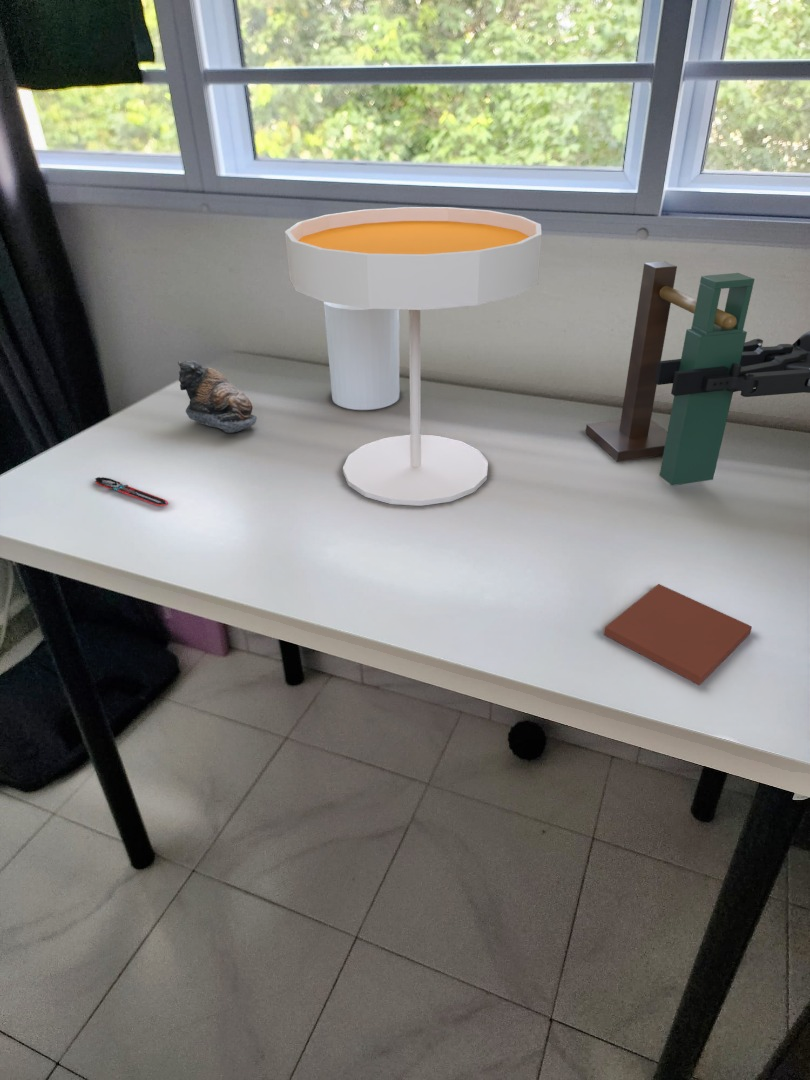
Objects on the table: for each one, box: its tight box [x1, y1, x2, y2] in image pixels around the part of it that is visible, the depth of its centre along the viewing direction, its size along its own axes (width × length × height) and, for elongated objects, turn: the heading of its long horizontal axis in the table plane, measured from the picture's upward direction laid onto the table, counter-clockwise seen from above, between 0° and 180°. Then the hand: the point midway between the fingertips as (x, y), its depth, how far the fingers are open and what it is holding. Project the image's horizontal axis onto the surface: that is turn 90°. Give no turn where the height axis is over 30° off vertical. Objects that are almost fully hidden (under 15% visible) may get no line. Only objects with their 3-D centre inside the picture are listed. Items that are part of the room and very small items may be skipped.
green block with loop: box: [659, 272, 755, 486], centre depth 90 cm, size 3×6×25 cm, turn 104°
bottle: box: [323, 302, 400, 411], centre depth 119 cm, size 12×12×25 cm
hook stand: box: [585, 260, 737, 462], centre depth 98 cm, size 22×10×25 cm, turn 14°
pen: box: [94, 476, 169, 507], centre depth 98 cm, size 2×14×1 cm, turn 58°
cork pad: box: [603, 583, 753, 686], centre depth 72 cm, size 10×10×1 cm
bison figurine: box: [177, 359, 258, 434], centre depth 114 cm, size 12×7×10 cm, turn 66°
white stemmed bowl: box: [284, 206, 543, 507], centre depth 95 cm, size 30×30×31 cm
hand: (666, 378), depth 88 cm, fingers closed on green block with loop, 3 cm apart
